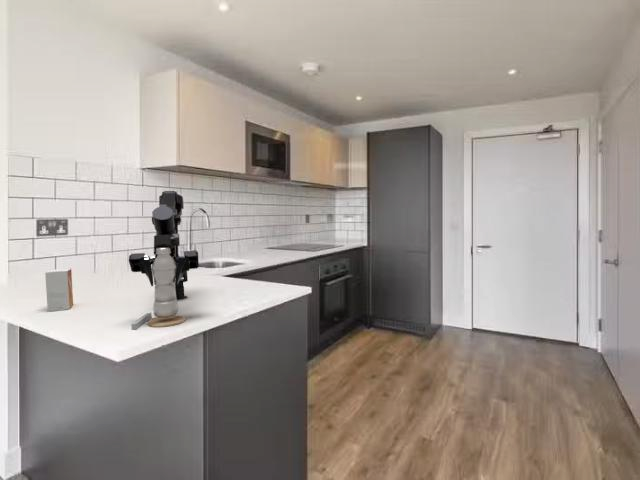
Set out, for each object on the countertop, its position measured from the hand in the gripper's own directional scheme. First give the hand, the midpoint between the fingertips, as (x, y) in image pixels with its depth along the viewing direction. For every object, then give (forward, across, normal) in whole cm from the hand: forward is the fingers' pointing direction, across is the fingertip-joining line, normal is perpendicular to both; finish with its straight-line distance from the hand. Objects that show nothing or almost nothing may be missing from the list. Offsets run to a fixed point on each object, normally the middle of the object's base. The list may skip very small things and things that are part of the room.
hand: (164, 284), depth 106 cm
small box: (-16, -36, +32) cm, 51 cm away
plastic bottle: (+6, 0, +8) cm, 10 cm away
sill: (+6, -7, +10) cm, 13 cm away
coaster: (+7, 0, +9) cm, 11 cm away
